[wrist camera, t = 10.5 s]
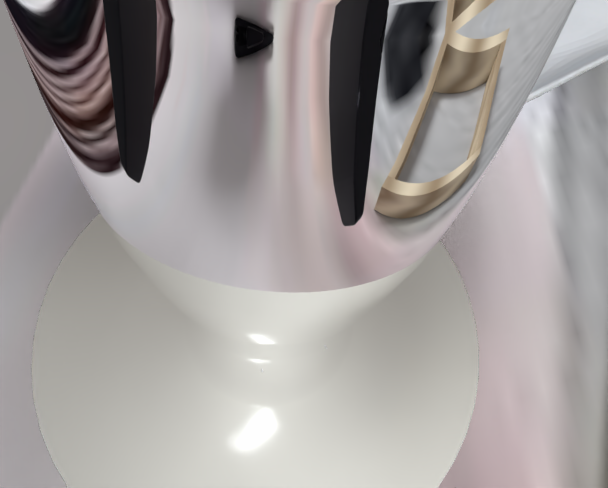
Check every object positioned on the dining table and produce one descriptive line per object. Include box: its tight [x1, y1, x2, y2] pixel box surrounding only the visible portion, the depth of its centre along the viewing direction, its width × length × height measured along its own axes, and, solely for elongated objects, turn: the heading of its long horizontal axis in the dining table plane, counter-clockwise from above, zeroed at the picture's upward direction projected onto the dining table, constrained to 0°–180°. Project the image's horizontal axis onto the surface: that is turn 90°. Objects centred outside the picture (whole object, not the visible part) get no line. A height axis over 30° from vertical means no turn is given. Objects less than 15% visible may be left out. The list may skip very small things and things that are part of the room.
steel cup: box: [3, 0, 578, 407], centre depth 11 cm, size 7×7×15 cm
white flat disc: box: [31, 213, 479, 488], centre depth 18 cm, size 16×16×1 cm
